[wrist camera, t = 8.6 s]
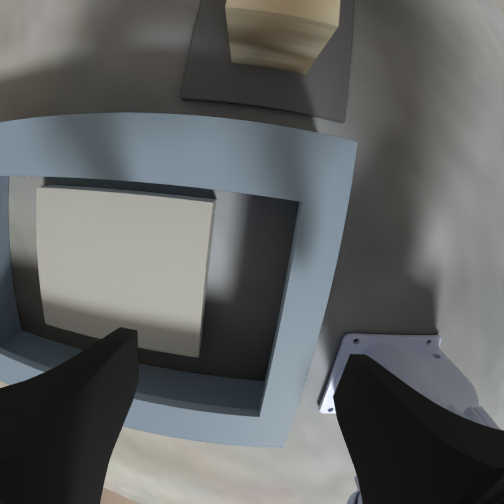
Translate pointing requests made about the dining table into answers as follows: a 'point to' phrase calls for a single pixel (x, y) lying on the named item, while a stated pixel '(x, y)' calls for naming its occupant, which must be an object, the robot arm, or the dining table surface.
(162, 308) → the box
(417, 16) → the dining table surface
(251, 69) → the mat
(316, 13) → the birch post
